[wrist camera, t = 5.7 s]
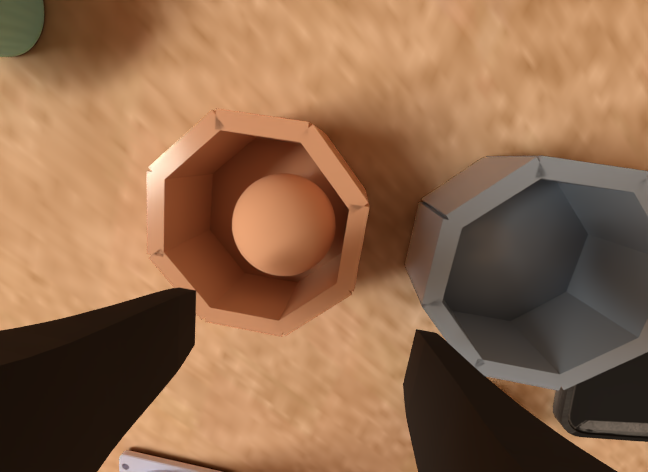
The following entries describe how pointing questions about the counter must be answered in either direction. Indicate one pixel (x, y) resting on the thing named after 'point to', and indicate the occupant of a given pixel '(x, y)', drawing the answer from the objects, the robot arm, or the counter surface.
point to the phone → (608, 403)
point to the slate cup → (536, 267)
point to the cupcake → (20, 25)
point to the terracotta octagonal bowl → (217, 212)
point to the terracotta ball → (283, 224)
